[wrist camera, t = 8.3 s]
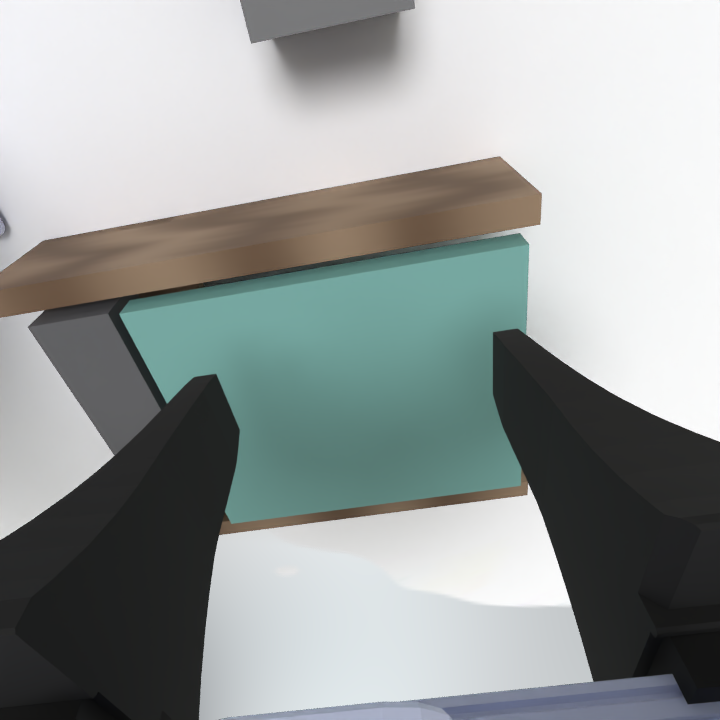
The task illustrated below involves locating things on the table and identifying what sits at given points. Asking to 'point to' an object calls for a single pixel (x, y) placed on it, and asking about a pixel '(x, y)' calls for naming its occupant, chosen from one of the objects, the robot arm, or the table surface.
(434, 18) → the table surface
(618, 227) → the table surface
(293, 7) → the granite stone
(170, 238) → the frame
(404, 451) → the trapdoor
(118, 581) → the robot arm
